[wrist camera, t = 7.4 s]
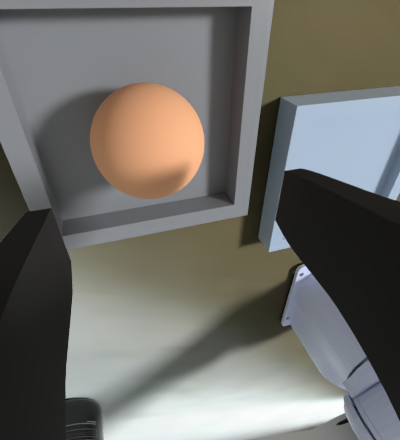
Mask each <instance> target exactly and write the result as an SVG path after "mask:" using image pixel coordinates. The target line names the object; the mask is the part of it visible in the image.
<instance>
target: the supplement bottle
mask: <svg viewBox="0 0 400 440" xmlns="http://www.w3.org/2000/svg"><path fill="white" fill-rule="evenodd" d="M65 401H66V440H104V438H103V420H102V409H101V406H100V405H99V404H98V403H97V402H96V401H94V400H91V399H84V398H78V399H70V400H65Z"/></svg>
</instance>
